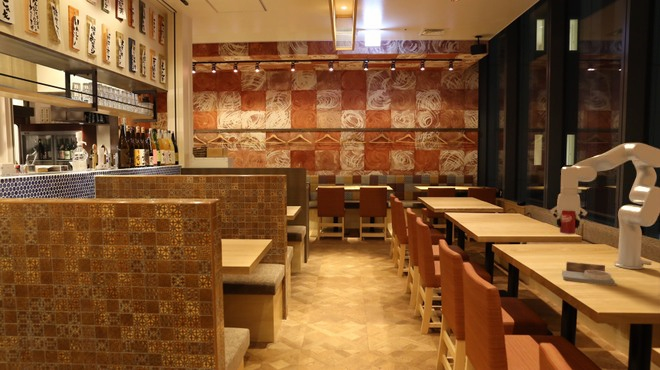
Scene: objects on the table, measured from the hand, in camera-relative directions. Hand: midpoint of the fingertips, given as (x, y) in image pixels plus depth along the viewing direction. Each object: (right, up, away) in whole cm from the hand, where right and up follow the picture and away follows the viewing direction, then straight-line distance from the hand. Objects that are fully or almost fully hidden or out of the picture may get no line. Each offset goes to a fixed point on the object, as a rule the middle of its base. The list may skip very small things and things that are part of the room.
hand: (567, 227), depth 226 cm
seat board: (0, -22, -17) cm, 28 cm away
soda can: (0, -4, 0) cm, 4 cm away
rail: (+4, -22, -8) cm, 23 cm away
